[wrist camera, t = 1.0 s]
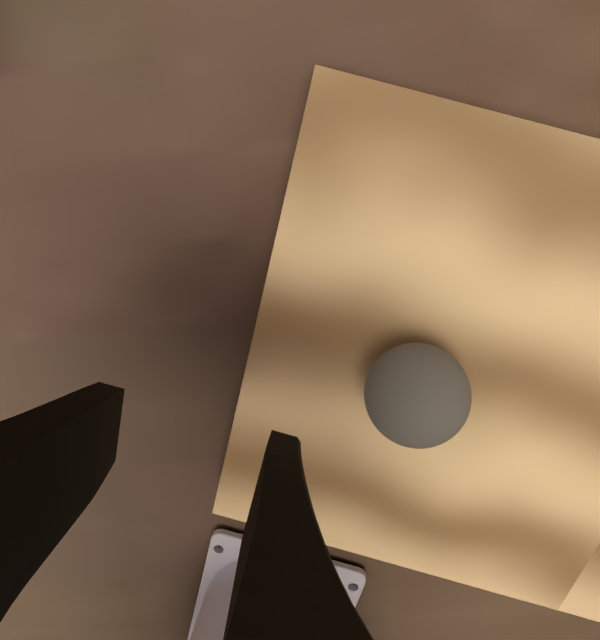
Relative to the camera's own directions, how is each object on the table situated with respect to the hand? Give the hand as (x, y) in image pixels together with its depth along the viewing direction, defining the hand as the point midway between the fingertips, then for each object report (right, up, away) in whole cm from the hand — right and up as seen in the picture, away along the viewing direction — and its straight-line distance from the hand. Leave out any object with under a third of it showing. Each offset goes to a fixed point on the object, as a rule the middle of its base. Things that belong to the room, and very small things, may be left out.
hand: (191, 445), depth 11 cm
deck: (+14, 0, +9) cm, 16 cm away
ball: (+6, 0, +5) cm, 8 cm away
